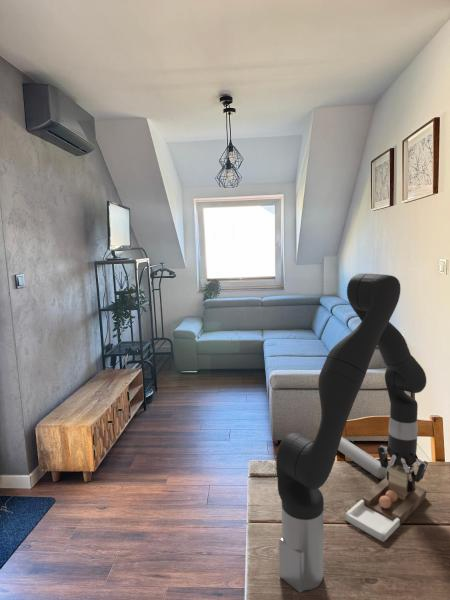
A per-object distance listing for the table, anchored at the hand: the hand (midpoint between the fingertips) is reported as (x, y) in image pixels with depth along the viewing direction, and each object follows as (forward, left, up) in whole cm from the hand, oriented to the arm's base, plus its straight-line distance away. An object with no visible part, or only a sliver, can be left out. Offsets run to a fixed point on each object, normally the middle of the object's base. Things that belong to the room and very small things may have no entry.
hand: (400, 486), depth 117 cm
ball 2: (-5, 0, -2) cm, 6 cm away
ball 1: (-9, 0, -2) cm, 9 cm away
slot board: (-4, 0, -3) cm, 5 cm away
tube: (+7, +19, -3) cm, 20 cm away
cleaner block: (0, 0, -2) cm, 2 cm away
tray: (-16, 0, -3) cm, 16 cm away
